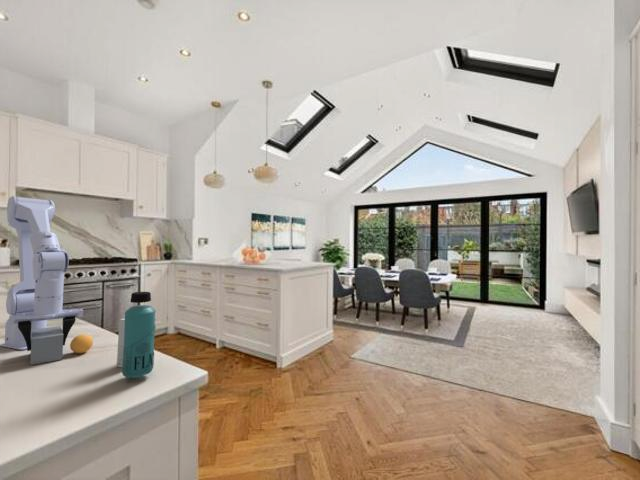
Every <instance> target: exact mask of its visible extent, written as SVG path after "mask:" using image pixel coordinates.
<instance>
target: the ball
mask: <svg viewBox="0 0 640 480" xmlns="http://www.w3.org/2000/svg"><path fill="white" fill-rule="evenodd" d="M93 344H94V340H93V337H92V336H91V335H88V334H85V333H84V334H78V335H77V336H75V337H74V338H73V339H72V340H71V341H70V343H69V348H70V350H71V351H72V352H73V353H75V354H84V353H87V352H89V350H90V349H91V348H92V347H93Z"/></svg>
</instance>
